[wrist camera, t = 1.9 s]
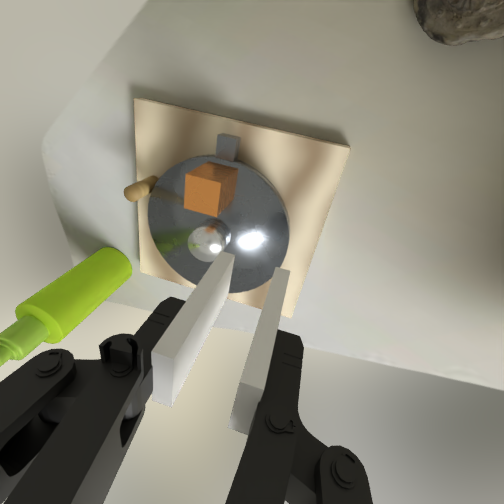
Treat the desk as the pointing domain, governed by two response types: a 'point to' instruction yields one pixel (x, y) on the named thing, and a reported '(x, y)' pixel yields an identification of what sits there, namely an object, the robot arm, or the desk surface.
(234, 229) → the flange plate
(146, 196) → the post base
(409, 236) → the desk surface
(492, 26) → the fossil
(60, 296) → the soap dispenser
